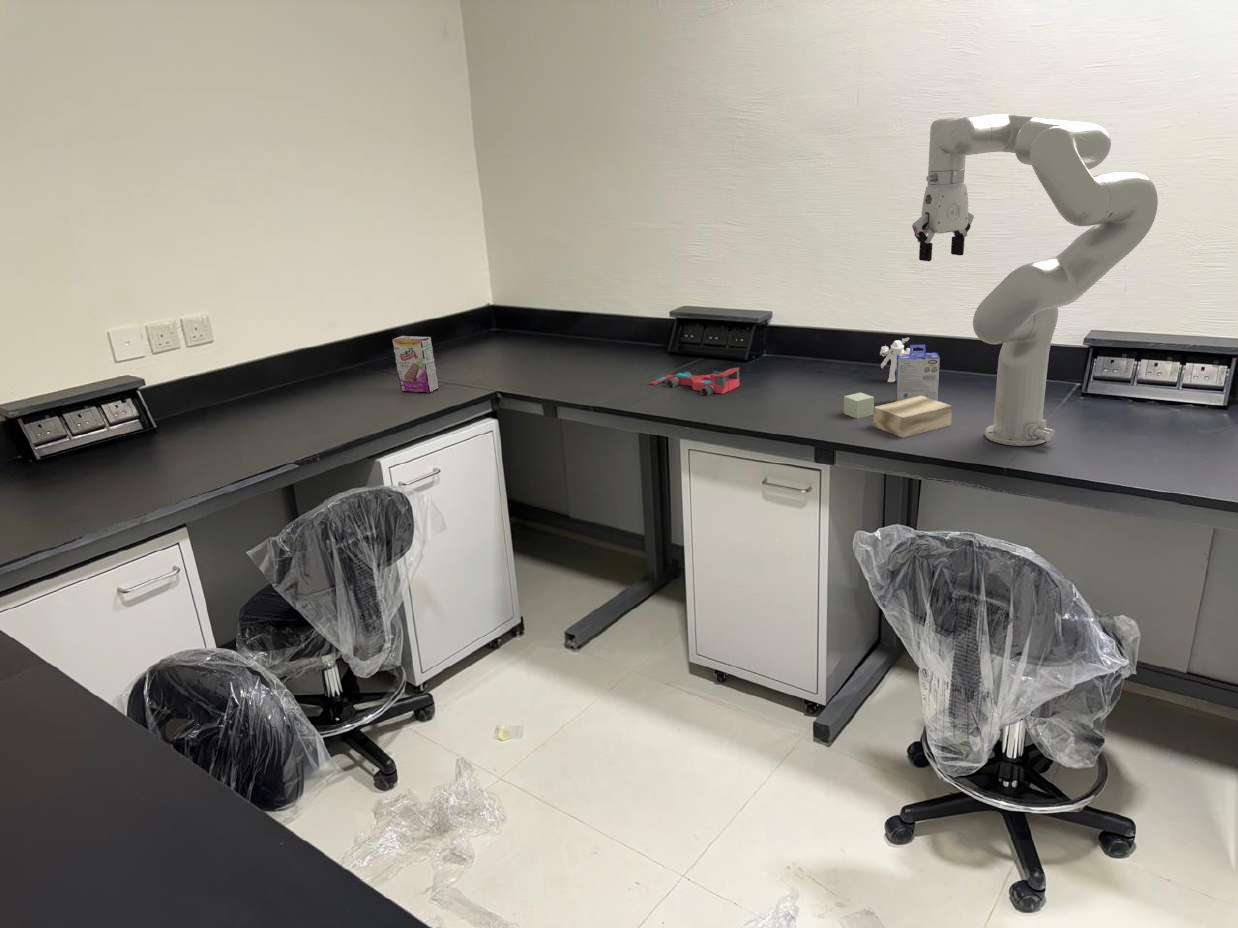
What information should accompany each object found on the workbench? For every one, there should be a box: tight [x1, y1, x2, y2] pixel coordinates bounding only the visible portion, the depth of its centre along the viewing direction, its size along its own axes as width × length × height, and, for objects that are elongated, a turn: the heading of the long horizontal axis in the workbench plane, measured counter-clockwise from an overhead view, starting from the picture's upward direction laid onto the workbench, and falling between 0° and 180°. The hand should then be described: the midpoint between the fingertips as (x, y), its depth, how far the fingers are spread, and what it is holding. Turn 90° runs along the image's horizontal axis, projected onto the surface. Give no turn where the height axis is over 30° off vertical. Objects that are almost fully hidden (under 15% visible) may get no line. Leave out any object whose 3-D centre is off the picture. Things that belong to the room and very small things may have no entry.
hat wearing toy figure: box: [879, 337, 914, 383], centre depth 234 cm, size 9×4×12 cm, turn 54°
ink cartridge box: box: [894, 344, 941, 402], centre depth 215 cm, size 10×6×14 cm, turn 78°
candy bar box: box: [391, 335, 440, 392], centre depth 263 cm, size 11×5×16 cm, turn 65°
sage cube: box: [843, 392, 875, 420], centre depth 212 cm, size 5×5×4 cm
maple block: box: [872, 396, 953, 438], centre depth 202 cm, size 10×14×5 cm
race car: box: [648, 367, 740, 397], centre depth 247 cm, size 14×6×25 cm
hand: (941, 257), depth 198 cm, fingers open, 9 cm apart
